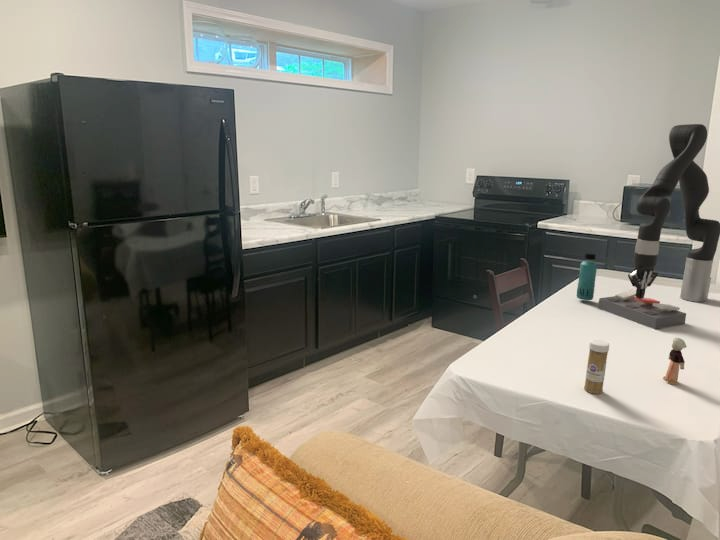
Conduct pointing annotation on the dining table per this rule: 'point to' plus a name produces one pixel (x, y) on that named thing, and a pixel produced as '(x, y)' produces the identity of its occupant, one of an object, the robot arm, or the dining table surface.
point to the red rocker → (647, 300)
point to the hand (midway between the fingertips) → (639, 297)
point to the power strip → (642, 312)
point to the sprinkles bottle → (596, 366)
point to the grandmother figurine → (675, 361)
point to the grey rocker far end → (666, 306)
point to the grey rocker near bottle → (626, 295)
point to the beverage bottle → (587, 278)
